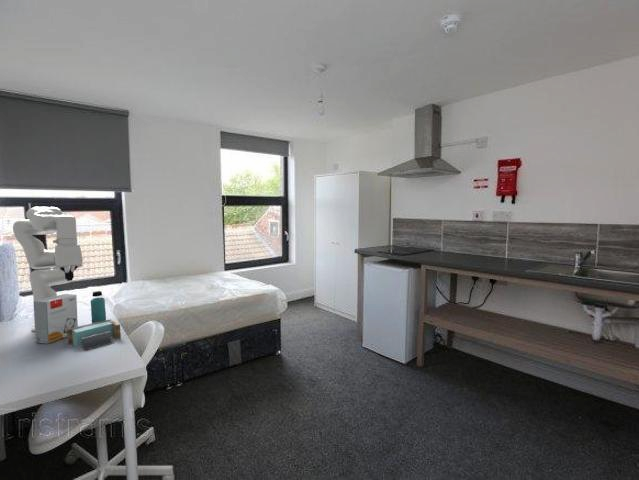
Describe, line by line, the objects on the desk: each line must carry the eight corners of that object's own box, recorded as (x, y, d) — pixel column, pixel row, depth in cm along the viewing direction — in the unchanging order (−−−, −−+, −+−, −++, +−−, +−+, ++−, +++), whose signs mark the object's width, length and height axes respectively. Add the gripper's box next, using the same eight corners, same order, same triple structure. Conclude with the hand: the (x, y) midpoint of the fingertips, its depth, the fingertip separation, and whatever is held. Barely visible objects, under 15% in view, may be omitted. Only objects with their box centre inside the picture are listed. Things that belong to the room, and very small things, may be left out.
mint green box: (72, 344, 151) (71, 329, 150) (108, 334, 163) (108, 321, 162) (77, 347, 147) (76, 332, 147) (113, 337, 159) (112, 323, 159)
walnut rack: (67, 343, 151) (67, 329, 150) (111, 332, 165) (110, 319, 164) (75, 350, 143) (75, 335, 143) (120, 338, 157) (120, 324, 156)
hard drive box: (48, 344, 150) (45, 302, 148) (34, 342, 152) (31, 301, 150) (79, 332, 165) (76, 294, 164) (66, 331, 167) (64, 293, 165)
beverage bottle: (109, 327, 172) (107, 290, 171) (97, 331, 166) (95, 293, 164) (100, 325, 174) (99, 289, 173) (88, 330, 168) (86, 292, 166)
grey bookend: (82, 347, 147) (82, 337, 146) (109, 340, 155) (109, 331, 155) (86, 350, 143) (85, 341, 143) (114, 343, 152) (113, 333, 151)
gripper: (48, 243, 144) (51, 284, 145) (88, 241, 155) (90, 278, 157) (44, 242, 148) (47, 281, 150) (83, 240, 160) (85, 276, 161)
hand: (69, 280), depth 153 cm, fingers closed
